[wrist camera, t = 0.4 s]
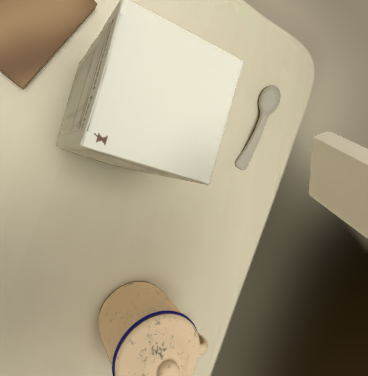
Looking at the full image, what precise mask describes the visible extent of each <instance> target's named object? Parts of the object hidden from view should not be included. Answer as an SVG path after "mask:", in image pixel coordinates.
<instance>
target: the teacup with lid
mask: <svg viewBox="0 0 368 376" xmlns="http://www.w3.org/2000/svg"><path fill="white" fill-rule="evenodd" d="M98 328H99V333H100V336H101V338H102V341H103V344H104V346H105V349H106V351H107V354H108V357H109V359H110V362H111V365H112V372H113V376H191V374H192V372H193V371H194V369H195V367H196V364H197V361H198V358H199V356H200V355H203V354H204V353H205V352H206V350H207V347H208V343H207V341H206V339H205V338H204V337H203V336H202V335H200V334H199V333H198V332H197V329H196V327H195V325H194V324H193V322H192V321H191V320H190V319H189V318H188V317H187V316H185V315H184V314H182V313H181V312H180V311H179V310H178V309H177V308H176V307H175V306H174V305H173V303H172V302H171V301H170V300H169V299H168V298H167V297H166V296H165V295H164V293H163V292H162V291H161V290H160V289H159V288H157V287H156V286H155V285H153V284H150V283H147V282H133V283H129V284H126V285H124V286H122V287H120V288H118V289H117V290H115V291H114V292H113V293H112V294H111V295H110V296H109V297H108V298H107V300H106V301H105V303H104V304H103V306H102V308H101V311H100V314H99V318H98Z"/></svg>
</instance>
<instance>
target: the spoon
mask: <svg viewBox="0 0 368 376" xmlns="http://www.w3.org/2000/svg"><path fill="white" fill-rule="evenodd" d="M279 102H280V91H279V89H278V88H277V87H276V86H274V85H271V86H268V87H266V88H265V89H264V90H263V91H262V93H261V95H260V97H259V102H258V106H259V109H260V117H259V120H258V123H257V125H256V128H255V130H254V132H253V134H252V136H251V138H250V140H249V141H248V143H247V145H246V146H245V148H244V149H243V151H242V152H241V154H240V155H239V156H238V158H237V159H236V161H235V166H236V167H238V168H240V169H242V170H245V169H247V167H248V165H249V163H250V160H251V158H252V155H253V153H254V150H255V148H256V146H257V144H258V142H259V140H260V137H261V135H262V132H263V129H264V127H265V124H266V121H267V118H268V116H269V115H270V114H271V113H272V112H274V111H275V110H276V108H277V107H278V105H279Z"/></svg>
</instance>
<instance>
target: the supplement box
mask: <svg viewBox="0 0 368 376" xmlns="http://www.w3.org/2000/svg"><path fill="white" fill-rule="evenodd" d="M243 63H244V62H243V61H242V60H240V59H239V58H237V57H235V56H233V55H231V54H230V53H228V52H226V51H224V50H222V49H220V48H218V47H217V46H215V45H213V44H211V43H209V42H207V41H205V40H203V39H201V38H200V37H198V36H196V35H194V34H192V33H190V32H189V31H187V30H185V29H183V28H181V27H179V26H177V25H176V24H174V23H172V22H170V21H168V20H166V19H165V18H163V17H161V16H159V15H157V14H155V13H153V12H151V11H150V10H148V9H146V8H144V7H142V6H140V5H138V4H136V3H134V2H133V1H131V0H120V1H119V3H118V5H117V6H116V8H115V9H114V11H113V13H112V14H111V16H110V17H109V19H108V21H107V22H106V24H105V25H104V27H103V29H102V31H101V33H100V35H99V36H98V37H97V39H96V40H95V41H94V42H93V44H92V45H91V47H90V48H89V50H88V52H87V53H86V55H85V56H84V58H83V59H82V60H81V62H80V64H79V66H78V69H77V72H76V76H75V79H74V83H73V86H72V90H71V94H70V97H69V101H68V104H67V108H66V111H65V115H64V118H63V122H62V126H61V129H60V133H59V137H58V140H57V147H59V148H61V149H64V150H67V151H70V152H73V153H76V154H80V155H83V156H86V157H89V158H92V159H95V160H98V161H102V162H105V163H108V164H112V165H116V166H119V167H123V168H128V169H132V170H137V171H141V172H146V173H151V174H156V175H161V176H166V177H171V178H176V179H181V180H186V181H191V182H196V183H201V184H207V185H208V184H210V180H211V176H212V173H213V169H214V165H215V162H216V158H217V154H218V151H219V147H220V144H221V140H222V136H223V133H224V129H225V126H226V122H227V119H228V115H229V111H230V108H231V104H232V101H233V97H234V93H235V90H236V86H237V83H238V79H239V76H240V72H241V69H242V66H243Z"/></svg>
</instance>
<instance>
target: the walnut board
mask: <svg viewBox="0 0 368 376" xmlns="http://www.w3.org/2000/svg"><path fill="white" fill-rule="evenodd" d="M96 5H97V3H96V2H95V1H94V0H0V71H1V72H2V73H3V74H4V75H6V76H7V77H8V78H9V79H11V80H12V81H13V82H14V83H16V84H17V85H18V86H19V87H21V88H22V89H24V88H25V87H26V86H27V84H28V83H29V82H30V81H31V80H32V79H33V78H34V77H35V75H36V74H37V73H38V72H39V71H40V70H41V69H42V68H43V66H44V65H45V64H46V63H47V62H48V61H49V60H50V59H51V58H52V56H53V55H54V54H55V53H56V52H57V51H58V50H59V49H60V47H61V46H62V45H63V44H64V43H65V42H66V41H67V40H68V38H69V37H70V36H71V35H72V34H73V33H74V32H75V31H76V29H77V28H78V27H79V26H80V25H81V24H82V23H83V22H84V21H85V19H86V18H87V17H88V16H89V15H90V14H91V13H92V12H93V10H94V9H95V7H96Z"/></svg>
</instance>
